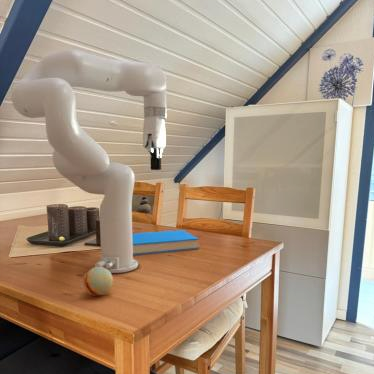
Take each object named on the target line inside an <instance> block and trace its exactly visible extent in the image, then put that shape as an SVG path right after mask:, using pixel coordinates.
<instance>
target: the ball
mask: <svg viewBox="0 0 374 374" xmlns="http://www.w3.org/2000/svg"><path fill="white" fill-rule="evenodd" d="M82 282H83V283H82V284H83V288H84V290H85V291H86V292H87V293H88V294H89V295H91V296H95V297H100V296H104V295H106V294H108V293H109V291H111V288H112V287H113V283H114V277H113V275H112V273H110V272H109V271H108V270H107V269H106V268H103V267H95V266H94V267H91V268H90V269H89V270H88V271H86V273H85V274H84V276H83V280H82Z"/></svg>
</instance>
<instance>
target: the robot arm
mask: <svg viewBox="0 0 374 374" xmlns="http://www.w3.org/2000/svg"><path fill="white" fill-rule="evenodd" d="M167 83H168V79H167V75H166V73H165V71H164V70H163V69H162V68H161V67H159V66H157V65H154V64H151V63H147V62H143V61H133V60H132V61H131V60H124V59H117V58H115V59H114V58H109V57H105V56H101V55H98V54H94V53H91V52H87V51H83V50H80V49H66V50H62V51H57V52H52V53H49V54H46V55H45V56H44V57H42V58H41V59H40V60H39V61H37V63H36V64H35V65H33V66H32V67H31V68H30V69H29V70H28V72H27V73H25V74H24V75H23V76H22V77H21V78H20V79H19V80H18V81H17V82H16V83H15V84H14V87H13V88H12V91H11V96H10V97H11V98H10V99H11V104H12V106H13V108H14V110H15V111H16V112H17V113H18V114H20V115H21V116H23V117H25V118H29V119H37V118H39V119H40V118H44V119H45V121H44V122H45V131H46V137H47V141H48V144H50V146H51V148H53V152H52V163H53V165H54V168H55V169H56V171H57V172H58V173H59V174H60V175H61V176H63V177H64V178H65V179H66V180H68V181H69V182H71V183H72V184H74V185H75V186H76V187H78V188H79V189H80V190H81V191H83V192H85V193H88V194H92V195H103V199H102V201H101V203H100V206H99V212H98V214H99V219H100V239H101V246H100V261H98V262H96V263H95V264H94V267H103V268H106V269H107V270H108V271H109V272H110V273H111V274H121V273H122V274H123V273H128V272H132V271H134V270H136V269H137V268H138V267H139V262H138V260H136V259H134V255H133V239H132V234H133V195H134V189H135V184H136V183H135V182H136V181H135V179H136V177H135V173H134V171H133V169H132V168H131V167H130V166H128V165H127V164H124V163H121V162H110V157H109V155H108V153H107V151H106V150H105V148H103V147H102V146H101V145H100V144H99V143H98V142H97V141H96V140H95V139H93V138H92V137H91V136H90V135H89V134H88V133H87V132H86V131H85V130H84V129H83V128H82V127H81V126H80V124H79V121H78V118H77V117H78V116H77V99H76V98H77V97H76V94H75V91H74V89H73V88H83V89H90V90H97V91H102V92H109V93H110V92H114V93H115V92H116V93H118V92H124V93H126V94H127V95H129V96H133V97H142V98H143V129H142V147H143V148H144V149H146V150H147V152H148V153H149V158H150V170H151V171H160V170H162V153H164V149H165V148H166V146H167V132H166V131H167V130H166V120H168V119H167V117H168V116H167V115H168V113H167V112H168V111H167V107H168V106H167V103H168V102H167Z"/></svg>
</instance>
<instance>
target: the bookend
mask: <svg viewBox="0 0 374 374" xmlns="http://www.w3.org/2000/svg"><path fill="white" fill-rule="evenodd" d="M94 222H95V238H93V239H90V240H88V241H86V242H84V245H85V246H92V247H93V246H95V247H101V239H100V218H97V219H95V221H94Z"/></svg>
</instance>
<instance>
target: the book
mask: <svg viewBox="0 0 374 374" xmlns="http://www.w3.org/2000/svg"><path fill="white" fill-rule="evenodd" d="M132 239H133V256H137V255H138V256H139V255H140V256H141V255H148V254H149V255H150V254H158V253H159V254H160V253H170V252H181V251H190V250H199V237H197V236H195V235H193V234H191V233H190V232H188V231H186V230H184V229H177V230H165V231H164V230H163V231H152V232H151V231H150V232H138V233H137V232H136V233H132Z"/></svg>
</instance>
